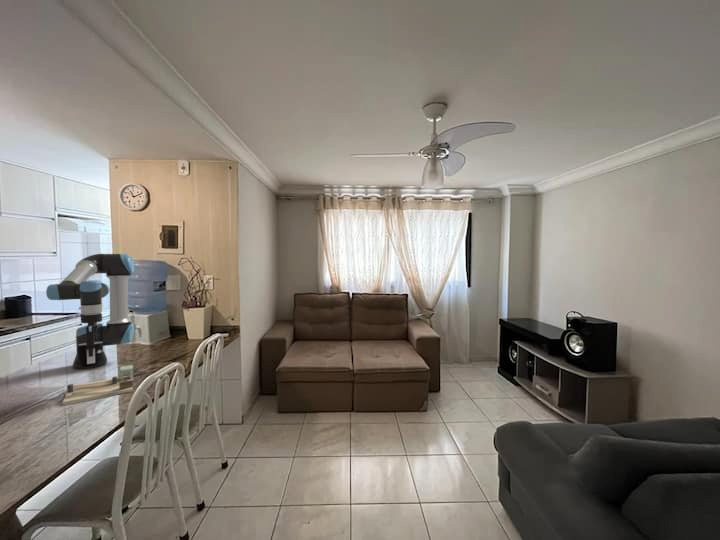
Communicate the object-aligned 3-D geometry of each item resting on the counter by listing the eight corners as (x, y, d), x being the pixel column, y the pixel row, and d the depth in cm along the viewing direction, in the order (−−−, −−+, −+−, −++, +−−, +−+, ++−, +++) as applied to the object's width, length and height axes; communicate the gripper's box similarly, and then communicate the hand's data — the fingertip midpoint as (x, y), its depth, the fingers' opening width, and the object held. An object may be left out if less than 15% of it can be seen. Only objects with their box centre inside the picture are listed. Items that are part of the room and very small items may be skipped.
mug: (98, 366, 142) (98, 343, 142) (73, 369, 138) (73, 346, 139) (108, 360, 153) (108, 340, 153) (85, 363, 149) (85, 342, 150)
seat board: (70, 389, 148) (70, 379, 148) (132, 378, 162) (132, 369, 162) (62, 405, 132) (62, 395, 131) (132, 391, 146) (132, 382, 146)
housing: (120, 376, 159) (120, 366, 159) (132, 374, 162) (132, 364, 162) (120, 380, 154) (120, 370, 154) (132, 378, 157) (132, 368, 157)
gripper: (84, 310, 153) (85, 354, 153) (76, 318, 133) (78, 368, 134) (103, 309, 157) (104, 352, 158) (99, 316, 138) (100, 365, 138)
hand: (92, 359), depth 146 cm, fingers closed on mug, 12 cm apart
